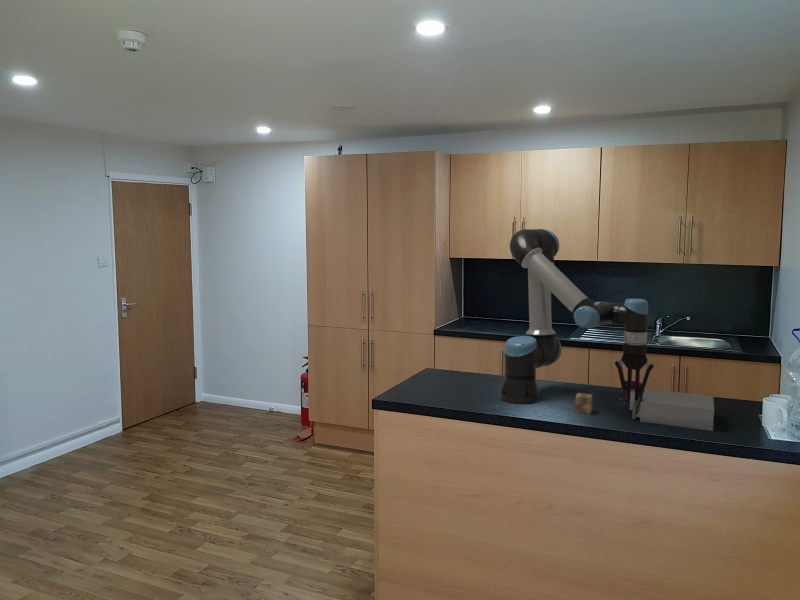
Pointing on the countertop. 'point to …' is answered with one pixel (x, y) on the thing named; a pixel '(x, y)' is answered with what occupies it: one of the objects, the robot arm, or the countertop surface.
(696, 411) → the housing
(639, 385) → the mug
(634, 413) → the tray
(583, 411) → the block
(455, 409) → the countertop surface
